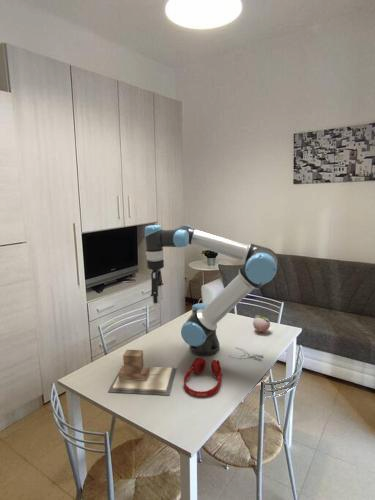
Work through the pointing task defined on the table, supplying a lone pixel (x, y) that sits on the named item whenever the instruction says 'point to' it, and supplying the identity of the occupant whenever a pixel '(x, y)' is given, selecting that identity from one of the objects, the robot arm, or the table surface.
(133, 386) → the board
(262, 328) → the decorative fruit
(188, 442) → the table surface
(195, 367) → the headphones
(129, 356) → the stepped wooden block
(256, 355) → the pliers
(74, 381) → the table surface
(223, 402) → the table surface
